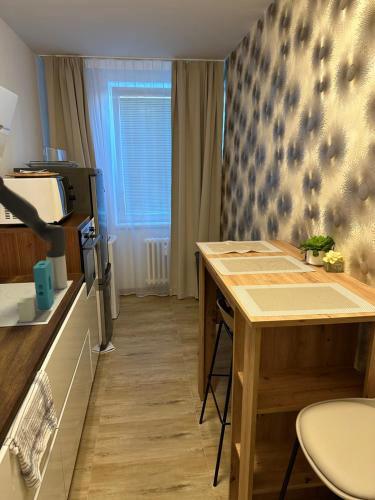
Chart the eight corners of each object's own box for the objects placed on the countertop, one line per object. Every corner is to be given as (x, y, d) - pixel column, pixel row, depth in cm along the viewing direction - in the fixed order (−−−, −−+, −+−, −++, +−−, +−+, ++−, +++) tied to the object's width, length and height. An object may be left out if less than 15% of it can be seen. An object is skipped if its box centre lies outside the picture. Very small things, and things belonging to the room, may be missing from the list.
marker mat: (24, 312, 155) (24, 311, 155) (52, 310, 156) (51, 310, 156) (16, 323, 144) (16, 322, 144) (45, 321, 146) (45, 321, 146)
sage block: (23, 316, 149) (21, 298, 147) (35, 316, 150) (33, 297, 148) (19, 321, 145) (17, 302, 143) (32, 321, 145) (29, 302, 143)
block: (48, 310, 156) (44, 267, 151) (37, 311, 155) (32, 268, 151) (55, 300, 168) (51, 260, 163) (44, 301, 167) (39, 260, 162)
